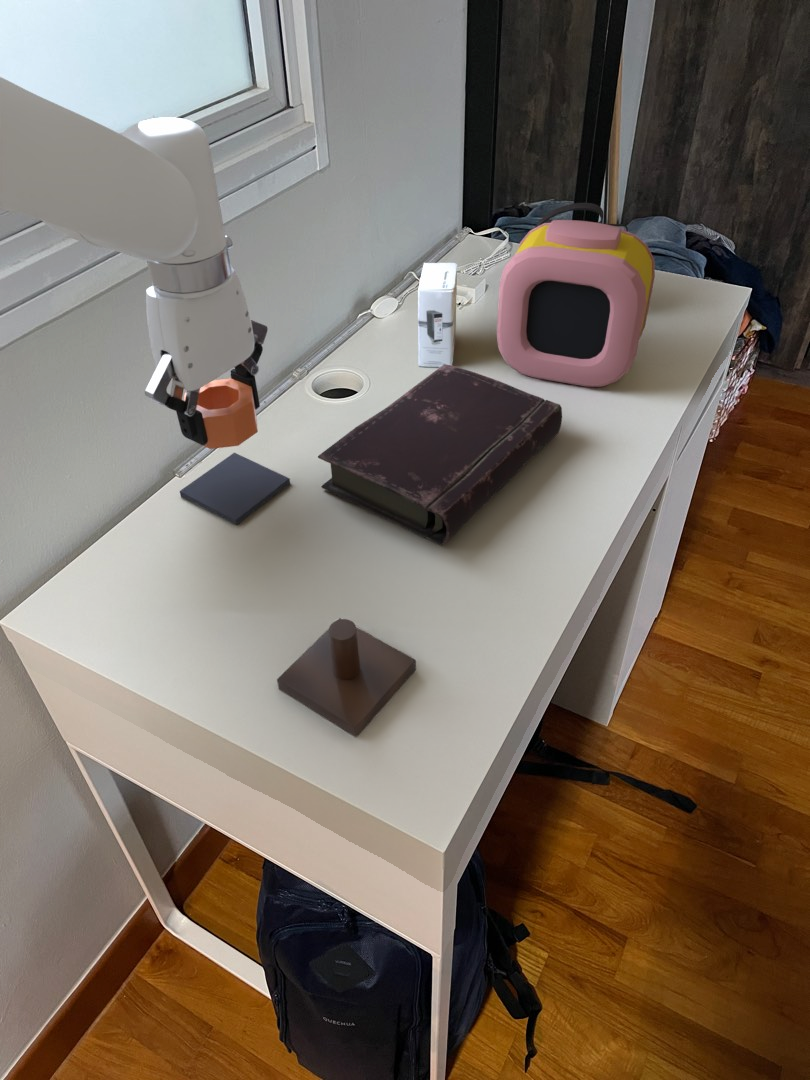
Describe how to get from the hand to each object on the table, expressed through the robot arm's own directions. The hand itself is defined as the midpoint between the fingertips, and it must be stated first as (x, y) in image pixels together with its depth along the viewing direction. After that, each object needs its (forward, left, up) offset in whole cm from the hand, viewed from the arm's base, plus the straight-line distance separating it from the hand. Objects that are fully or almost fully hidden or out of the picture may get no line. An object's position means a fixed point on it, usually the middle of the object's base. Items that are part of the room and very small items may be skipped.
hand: (222, 421), depth 89 cm
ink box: (+39, -2, -10) cm, 40 cm away
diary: (+18, -17, -10) cm, 27 cm away
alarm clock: (+46, -19, -10) cm, 51 cm away
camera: (+63, -11, -10) cm, 65 cm away
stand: (-14, -28, -10) cm, 33 cm away
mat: (0, 0, -10) cm, 10 cm away
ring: (0, 0, -1) cm, 1 cm away
